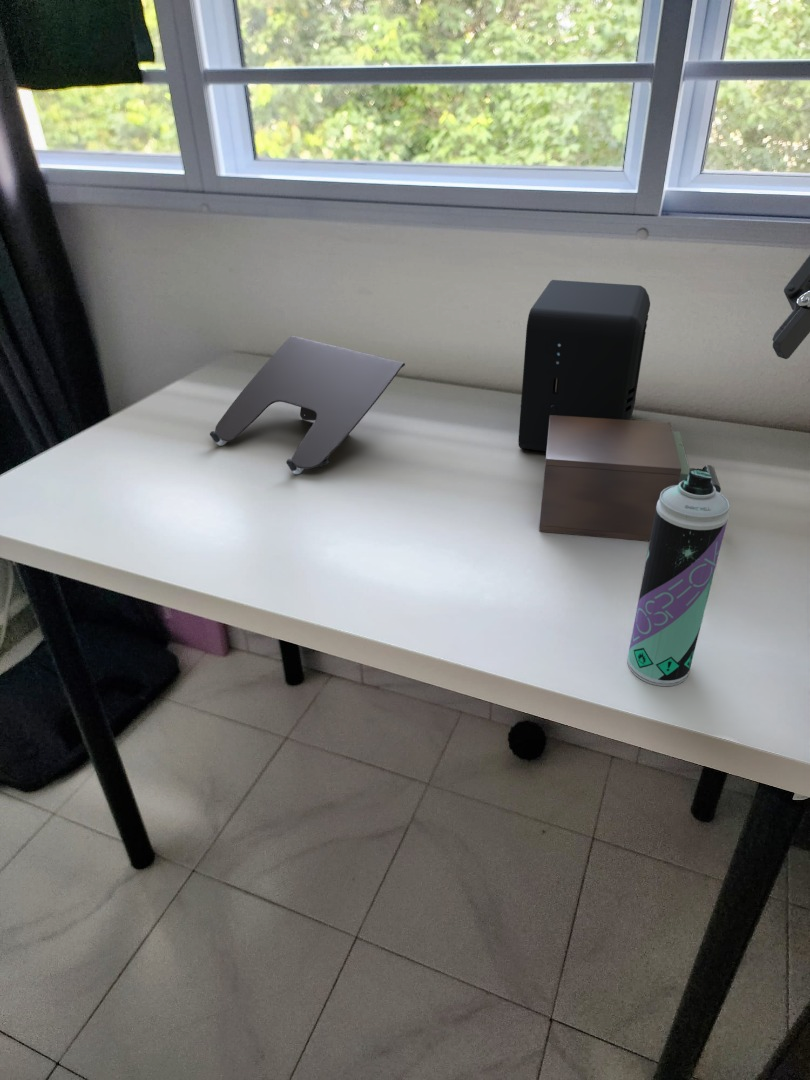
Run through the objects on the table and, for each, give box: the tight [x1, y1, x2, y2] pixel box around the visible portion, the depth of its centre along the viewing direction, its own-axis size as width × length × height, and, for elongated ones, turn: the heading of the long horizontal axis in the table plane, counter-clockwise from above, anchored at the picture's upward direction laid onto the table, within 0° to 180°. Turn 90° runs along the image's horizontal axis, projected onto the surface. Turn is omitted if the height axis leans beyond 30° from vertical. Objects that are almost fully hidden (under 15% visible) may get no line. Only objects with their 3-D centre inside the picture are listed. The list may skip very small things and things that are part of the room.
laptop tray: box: [209, 335, 406, 475], centre depth 112 cm, size 23×23×9 cm
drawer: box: [672, 430, 722, 494], centre depth 90 cm, size 18×11×8 cm, turn 79°
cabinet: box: [538, 415, 681, 542], centre depth 90 cm, size 15×13×10 cm
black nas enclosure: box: [517, 279, 651, 452], centre depth 107 cm, size 20×15×20 cm
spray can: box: [626, 468, 730, 687], centre depth 64 cm, size 6×6×20 cm
